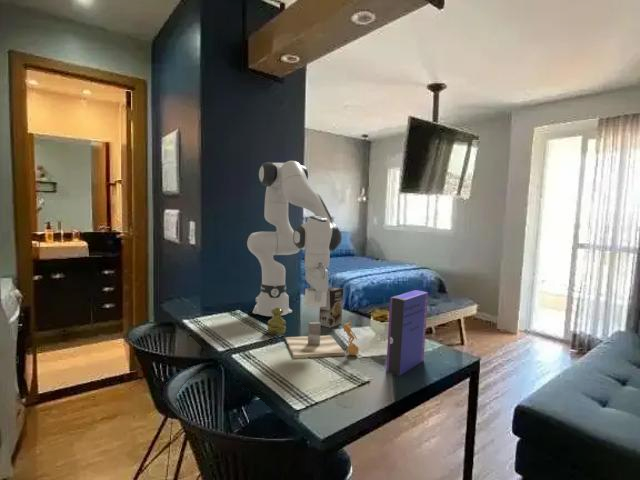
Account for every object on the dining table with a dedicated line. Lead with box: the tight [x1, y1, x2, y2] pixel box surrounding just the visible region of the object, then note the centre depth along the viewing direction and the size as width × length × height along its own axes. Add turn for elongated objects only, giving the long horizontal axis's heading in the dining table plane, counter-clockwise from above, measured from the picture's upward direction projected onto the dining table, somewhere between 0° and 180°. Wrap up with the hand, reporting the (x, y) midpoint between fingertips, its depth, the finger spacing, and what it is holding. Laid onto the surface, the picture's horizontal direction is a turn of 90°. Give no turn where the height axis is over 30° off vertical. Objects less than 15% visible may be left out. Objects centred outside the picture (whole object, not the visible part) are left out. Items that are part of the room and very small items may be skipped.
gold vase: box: [266, 308, 287, 335], centre depth 155 cm, size 7×8×10 cm
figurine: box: [342, 321, 360, 356], centre depth 133 cm, size 8×6×12 cm
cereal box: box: [385, 289, 429, 377], centre depth 126 cm, size 17×5×24 cm, turn 141°
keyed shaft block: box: [284, 321, 346, 359], centre depth 139 cm, size 18×18×9 cm
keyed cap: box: [304, 288, 327, 308], centre depth 138 cm, size 7×5×6 cm
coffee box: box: [318, 286, 344, 329], centre depth 169 cm, size 9×6×16 cm
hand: (315, 299), depth 138 cm, fingers closed on keyed cap, 5 cm apart
